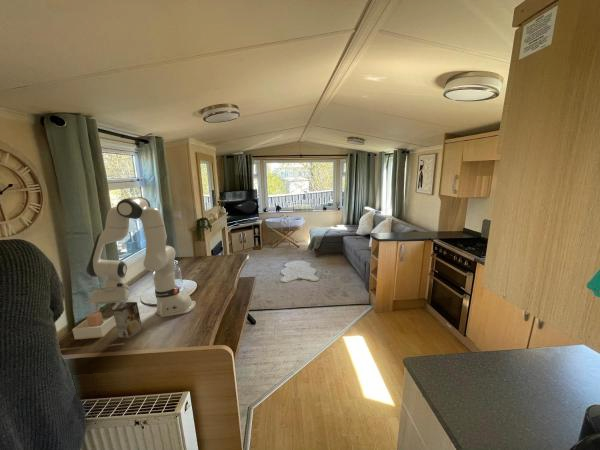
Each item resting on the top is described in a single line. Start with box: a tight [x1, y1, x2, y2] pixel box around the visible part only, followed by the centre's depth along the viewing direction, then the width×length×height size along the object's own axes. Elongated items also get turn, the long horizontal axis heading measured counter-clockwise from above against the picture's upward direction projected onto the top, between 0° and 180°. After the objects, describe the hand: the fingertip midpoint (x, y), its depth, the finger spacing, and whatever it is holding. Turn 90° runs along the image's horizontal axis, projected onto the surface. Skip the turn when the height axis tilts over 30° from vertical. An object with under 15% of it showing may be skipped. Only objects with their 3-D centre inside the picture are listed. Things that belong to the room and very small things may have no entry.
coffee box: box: [112, 301, 143, 340], centre depth 138 cm, size 9×6×16 cm
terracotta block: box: [86, 311, 104, 327], centre depth 142 cm, size 4×4×9 cm
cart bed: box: [71, 314, 117, 340], centre depth 142 cm, size 14×13×6 cm
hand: (105, 310), depth 150 cm, fingers open, 8 cm apart
